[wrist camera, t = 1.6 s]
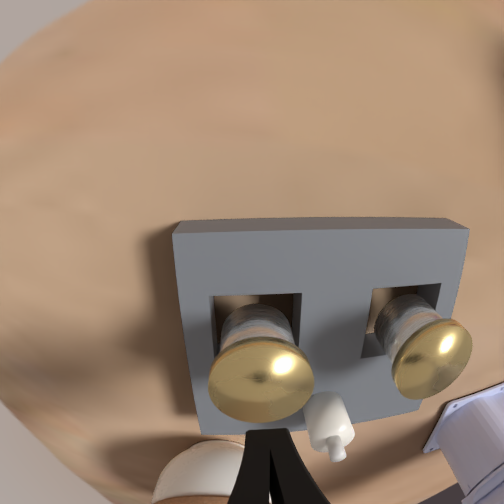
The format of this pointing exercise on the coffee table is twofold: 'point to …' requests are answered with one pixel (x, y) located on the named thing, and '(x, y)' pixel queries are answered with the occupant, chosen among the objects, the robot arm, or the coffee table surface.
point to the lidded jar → (200, 474)
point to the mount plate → (314, 297)
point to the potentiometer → (328, 424)
